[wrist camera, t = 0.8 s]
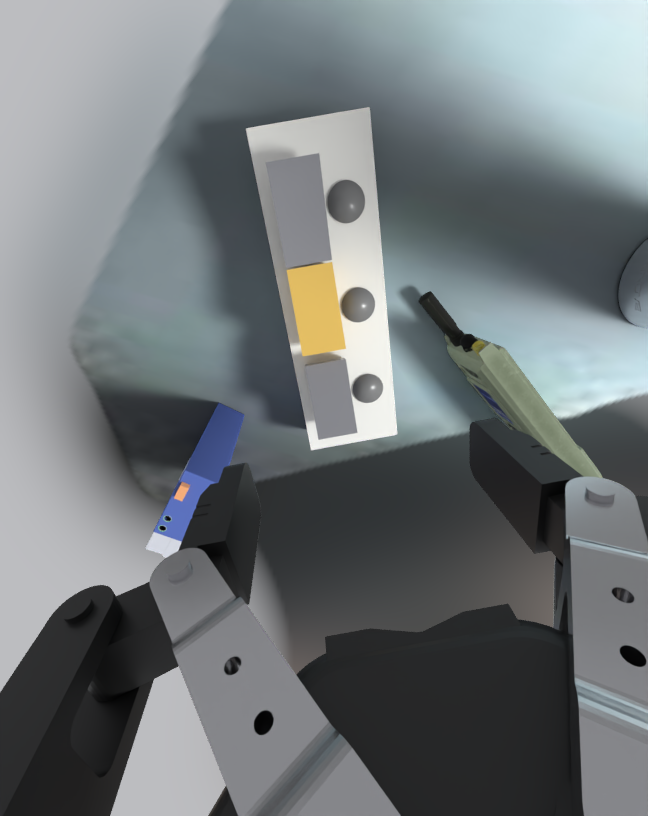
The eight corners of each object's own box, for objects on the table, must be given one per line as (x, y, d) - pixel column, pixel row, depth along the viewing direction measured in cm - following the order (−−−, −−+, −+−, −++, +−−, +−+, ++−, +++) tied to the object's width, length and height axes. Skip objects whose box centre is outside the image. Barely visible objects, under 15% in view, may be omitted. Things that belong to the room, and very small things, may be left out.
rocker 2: (343, 357, 29) (345, 359, 27) (354, 427, 30) (357, 432, 28) (304, 364, 29) (304, 366, 27) (317, 434, 30) (318, 439, 28)
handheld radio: (537, 468, 40) (403, 308, 32) (561, 449, 40) (431, 281, 31) (583, 505, 34) (432, 319, 25) (613, 483, 33) (468, 285, 25)
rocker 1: (330, 266, 26) (332, 261, 24) (343, 348, 27) (346, 348, 25) (287, 274, 26) (286, 270, 24) (302, 355, 27) (302, 356, 25)
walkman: (218, 402, 34) (182, 472, 23) (245, 414, 34) (222, 489, 23) (186, 463, 36) (140, 555, 25) (212, 474, 37) (177, 567, 26)
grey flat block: (316, 153, 22) (319, 153, 21) (329, 254, 25) (331, 259, 24) (266, 162, 22) (265, 162, 21) (285, 262, 25) (286, 267, 24)
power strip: (358, 127, 26) (370, 105, 22) (386, 416, 36) (397, 435, 32) (252, 146, 26) (245, 127, 22) (309, 430, 36) (311, 451, 32)
